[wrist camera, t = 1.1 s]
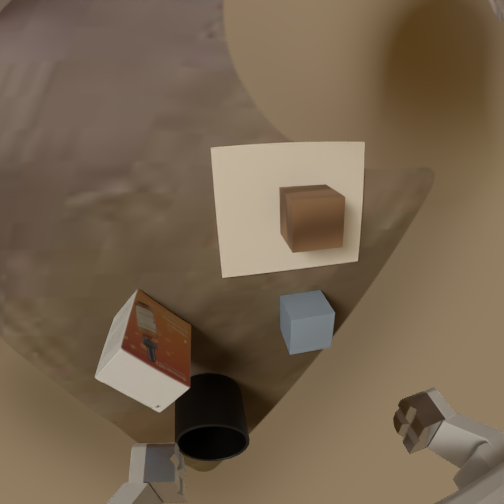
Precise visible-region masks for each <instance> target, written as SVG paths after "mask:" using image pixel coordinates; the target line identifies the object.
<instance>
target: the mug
mask: <svg viewBox="0 0 504 504" xmlns="http://www.w3.org/2000/svg"><path fill="white" fill-rule="evenodd" d="M175 443H177V445H178V447H179V452H181V453H182V454H183V455H185V456H187V457H189V458H192V459H196V460H202V461H219V460H225V459H229V458H232V457H235V456H237V455H239V454H241V453H242V452H243V451H244V450H246V448H247V447H248V445H249V435H248V429H247V424H246V419H245V413H244V408H243V402H242V397H241V391H240V389H239V387H238V386H237V384H236V383H235V382H234V381H232V380H231V379H229V378H227V377H225V376H222V375H218V374H199V375H195V376H192V377H190V388H189V389H188V390H187V391H186V392H185V393H183V394H182V395H181V396H180V397H179V398H177V399H176V400H175Z"/></svg>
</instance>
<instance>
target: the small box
mask: <svg viewBox="0 0 504 504" xmlns="http://www.w3.org/2000/svg"><path fill="white" fill-rule="evenodd" d="M190 361H191V325H190V324H189V323H187V322H186V321H184V320H182V319H181V318H179V317H177V316H176V315H174V314H173V313H171V312H170V311H169V310H167V309H166V308H164V307H163V306H161V305H160V304H159V303H157V302H156V301H154V300H153V299H151V298H150V297H149V296H147V295H146V294H145V293H143V292H142V291H141V290H139V289H137V290H136V292H135V293H134V294H133V295H132V296H131V297H130V299H129V300H128V301H127V302H126V303H125V305H124V306H123V307H122V308H121V310H120V311H119V312H118V313H117V315H116V316H115V317H114V319H113V322H112V325H111V328H110V331H109V334H108V337H107V340H106V342H105V346H104V349H103V352H102V355H101V358H100V361H99V364H98V368H97V371H96V374H95V378H96V379H97V380H99V381H101V382H103V383H105V384H107V385H109V386H111V387H112V388H114V389H116V390H118V391H120V392H122V393H123V394H125V395H127V396H129V397H131V398H133V399H135V400H137V401H139V402H140V403H142V404H144V405H146V406H148V407H150V408H152V409H153V410H155V411H157V412H159V413H160V412H161V411H163V410H164V409H165V408H166V407H168V406H169V405H170V404H171V403H172V402H174V401H175V400H176V399H177V398H179V397H180V396H181V395H182V394H183V393H185V392H186V391H187V390H188V389H189V388H190Z"/></svg>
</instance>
